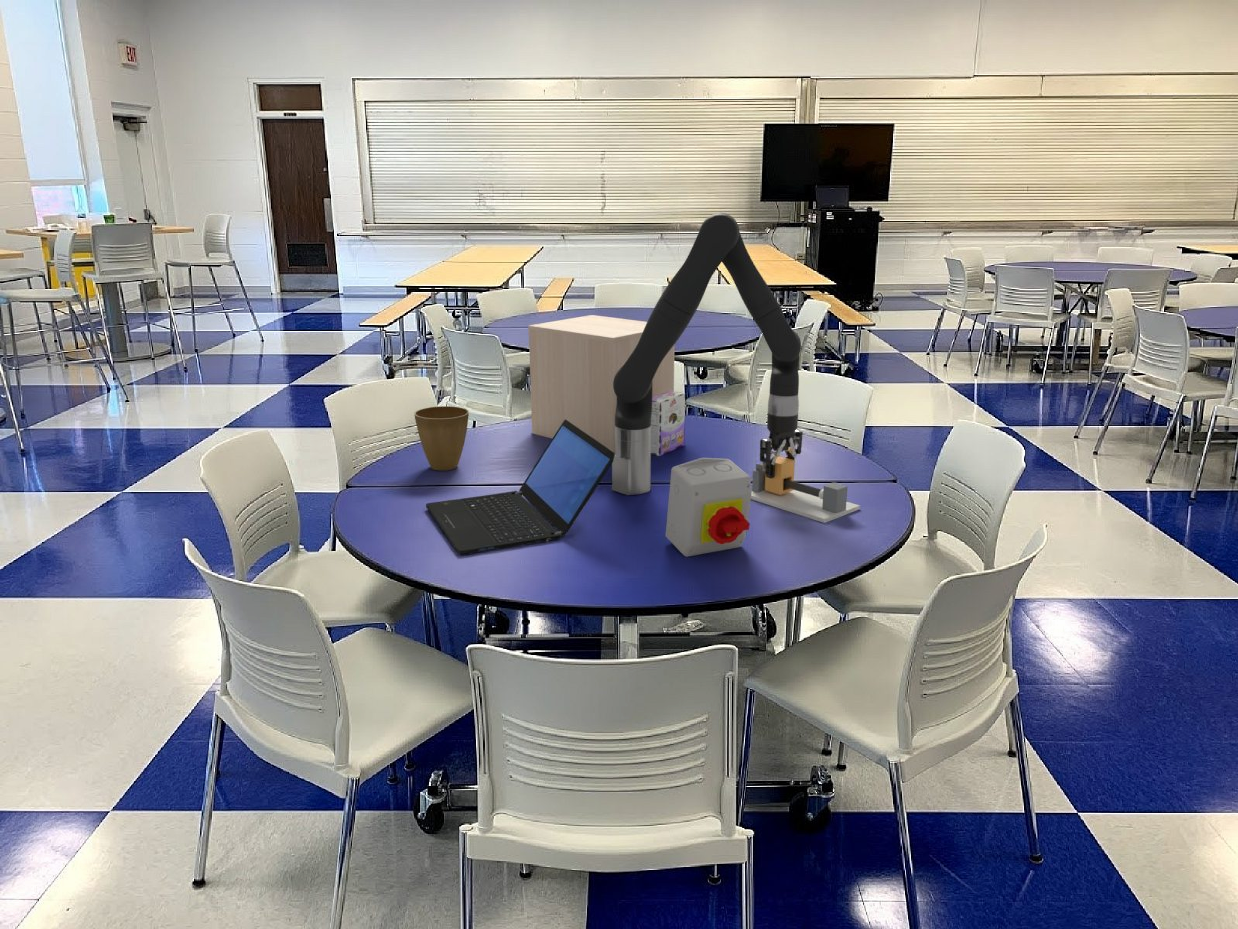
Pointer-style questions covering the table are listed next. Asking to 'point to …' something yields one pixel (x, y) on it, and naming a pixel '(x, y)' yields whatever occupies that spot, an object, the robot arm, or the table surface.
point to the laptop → (530, 498)
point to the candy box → (667, 422)
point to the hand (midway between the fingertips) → (779, 474)
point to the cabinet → (584, 373)
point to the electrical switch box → (708, 506)
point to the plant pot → (442, 435)
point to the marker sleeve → (780, 476)
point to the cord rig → (804, 498)
